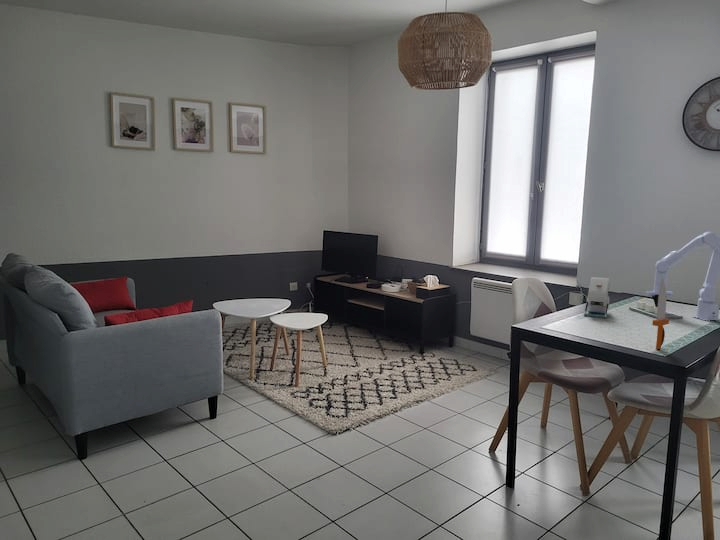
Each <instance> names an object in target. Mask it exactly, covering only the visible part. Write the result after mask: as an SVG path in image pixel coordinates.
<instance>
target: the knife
mask: <svg viewBox="0 0 720 540" xmlns="http://www.w3.org/2000/svg"><path fill="white" fill-rule="evenodd" d="M666 291H667V286H666V287H665V283H664V280H663V278H662V277H661V283H660V290H659V297H658V308H657V319H656V318H655V319H653V320H652V324H651V325H652V326H655V327H657V330H656V331H657V332H656V333H657V335H656V342H655V343H656V344H655V350H656V349H661V350H662V345H664V342H665V335H666V334H665V328H664V326H665V325H668V324H670V319H666V318H665V312H666V310H667V298H666V296H667V295H666Z"/></svg>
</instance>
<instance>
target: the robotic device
mask: <svg viewBox="0 0 720 540" xmlns="http://www.w3.org/2000/svg"><path fill="white" fill-rule="evenodd" d="M610 281H611V280H610V278H608V277H607V278H605V277H596V276H595V277H594V276H592V277H591V278H590V283H589V288H588V291H587V292H588V293H587V297H586V303H585V305H586V306H585V308H584V313H583V317H594V318H599V319H607V313H608V310H609V305H610V301H611V299H610V296H609V289H610V285H611V284H610V283H611V282H610ZM587 310H588V313H587ZM591 313H594V314H591ZM599 314H600V315H599ZM601 314H602V315H601Z"/></svg>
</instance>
